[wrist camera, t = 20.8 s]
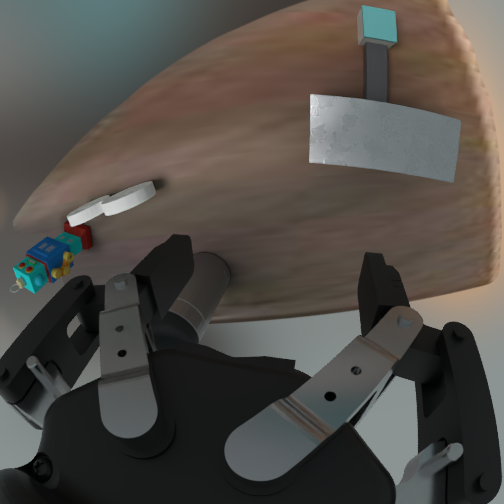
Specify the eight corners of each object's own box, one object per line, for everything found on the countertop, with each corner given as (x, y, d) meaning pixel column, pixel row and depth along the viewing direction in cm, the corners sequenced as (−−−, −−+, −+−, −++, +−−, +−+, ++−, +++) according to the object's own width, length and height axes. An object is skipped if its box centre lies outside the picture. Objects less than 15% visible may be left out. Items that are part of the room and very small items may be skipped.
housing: (311, 147, 40) (309, 162, 31) (312, 97, 36) (310, 94, 27) (423, 162, 36) (453, 182, 27) (428, 114, 32) (461, 120, 23)
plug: (356, 143, 38) (362, 149, 33) (356, 17, 28) (362, 5, 23) (384, 147, 37) (393, 154, 32) (385, 22, 27) (394, 11, 22)
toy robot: (94, 227, 58) (19, 288, 37) (98, 249, 62) (29, 312, 41) (64, 218, 60) (-6, 270, 39) (68, 239, 63) (3, 292, 42)
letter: (162, 176, 48) (131, 195, 40) (165, 187, 49) (135, 208, 41) (88, 201, 55) (58, 220, 47) (91, 210, 56) (62, 229, 48)
